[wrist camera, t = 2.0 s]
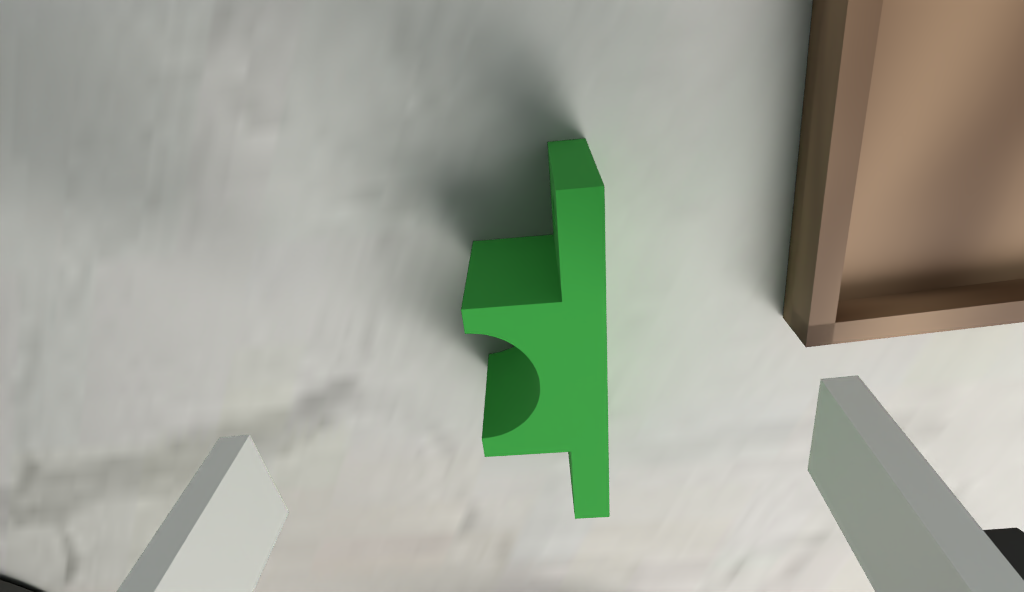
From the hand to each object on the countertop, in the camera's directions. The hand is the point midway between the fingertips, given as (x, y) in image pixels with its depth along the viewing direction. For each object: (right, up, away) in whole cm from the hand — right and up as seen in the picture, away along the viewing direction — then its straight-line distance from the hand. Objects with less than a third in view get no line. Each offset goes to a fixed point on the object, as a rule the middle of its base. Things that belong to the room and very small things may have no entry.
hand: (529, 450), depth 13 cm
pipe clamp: (+1, +4, +6) cm, 7 cm away
